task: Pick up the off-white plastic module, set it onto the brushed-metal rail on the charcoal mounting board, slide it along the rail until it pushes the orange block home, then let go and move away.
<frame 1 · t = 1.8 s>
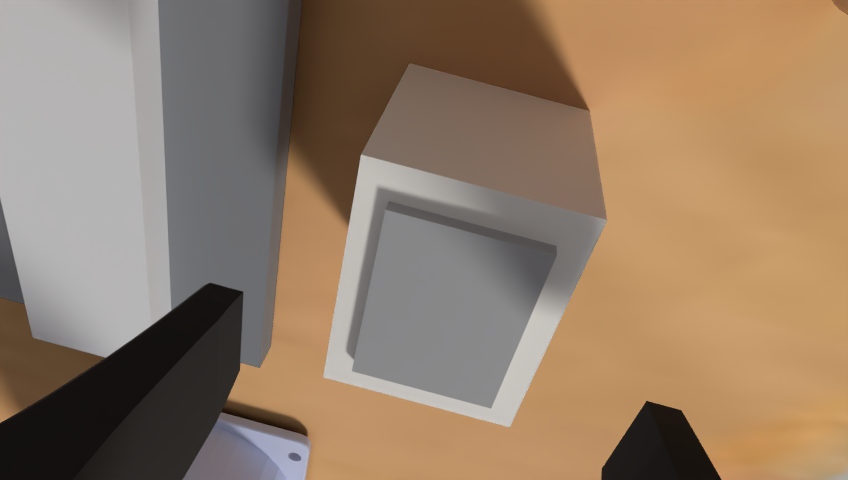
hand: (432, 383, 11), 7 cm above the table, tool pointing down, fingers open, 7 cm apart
module: (468, 188, 17), on the table
rail board: (103, 22, 16), on the table
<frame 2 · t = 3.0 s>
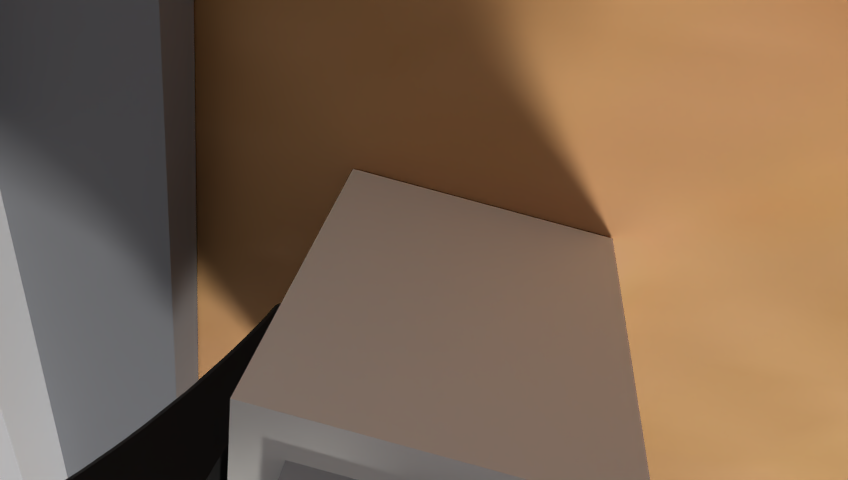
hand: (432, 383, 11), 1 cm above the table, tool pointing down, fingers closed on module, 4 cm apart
module: (442, 328, 12), on the table, touching gripper
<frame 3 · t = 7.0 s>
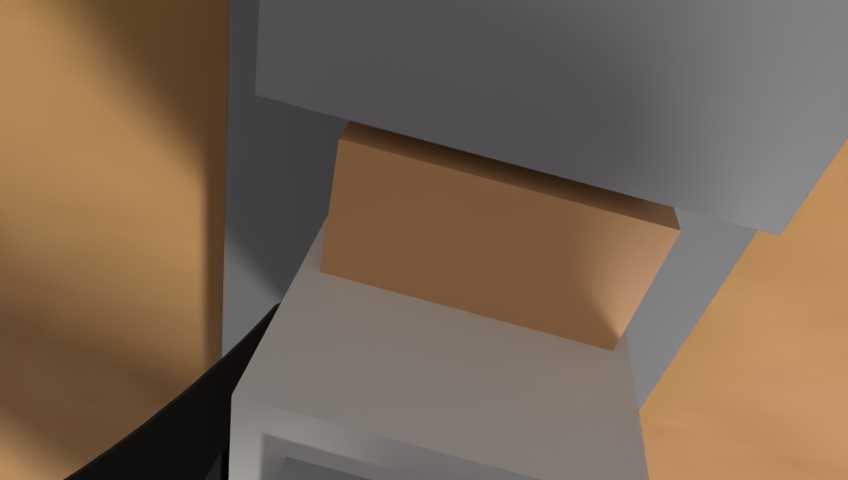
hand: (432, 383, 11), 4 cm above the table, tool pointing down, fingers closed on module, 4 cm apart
module: (442, 326, 12), point 2 cm above the table, touching gripper, orange block
orange block: (493, 200, 9), point 4 cm above the table, slide at 1.5 cm, touching module
rail board: (436, 324, 15), on the table
when the fingers open (4 cm above the table, at t = 8.3 s): module stays where it is, resting on rail board.
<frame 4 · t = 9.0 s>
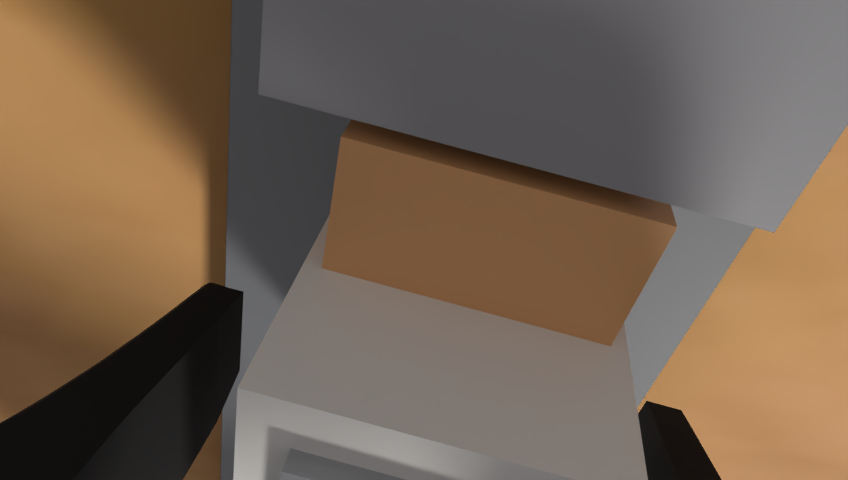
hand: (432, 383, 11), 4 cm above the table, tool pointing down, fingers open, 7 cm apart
module: (443, 323, 12), point 2 cm above the table, touching rail board
orange block: (492, 198, 9), point 4 cm above the table, slide at 1.5 cm
rail board: (436, 321, 15), on the table
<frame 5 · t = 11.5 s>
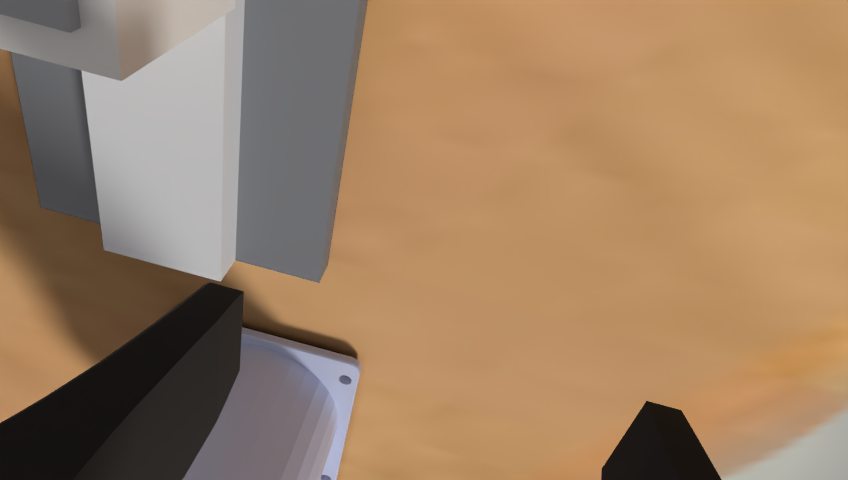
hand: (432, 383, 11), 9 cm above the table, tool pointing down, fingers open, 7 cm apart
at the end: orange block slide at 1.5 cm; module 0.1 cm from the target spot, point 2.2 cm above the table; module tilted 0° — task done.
